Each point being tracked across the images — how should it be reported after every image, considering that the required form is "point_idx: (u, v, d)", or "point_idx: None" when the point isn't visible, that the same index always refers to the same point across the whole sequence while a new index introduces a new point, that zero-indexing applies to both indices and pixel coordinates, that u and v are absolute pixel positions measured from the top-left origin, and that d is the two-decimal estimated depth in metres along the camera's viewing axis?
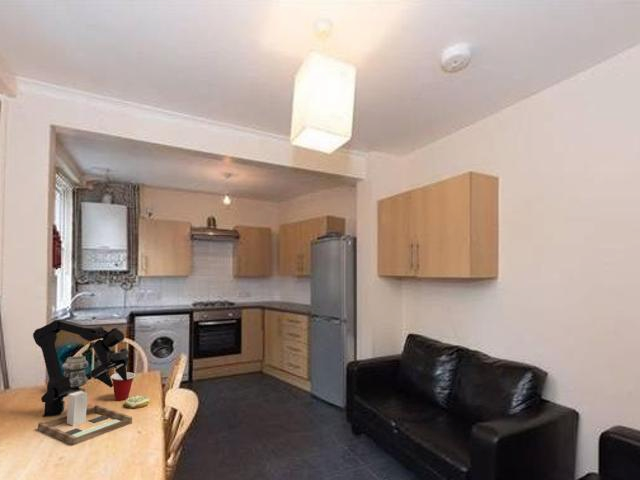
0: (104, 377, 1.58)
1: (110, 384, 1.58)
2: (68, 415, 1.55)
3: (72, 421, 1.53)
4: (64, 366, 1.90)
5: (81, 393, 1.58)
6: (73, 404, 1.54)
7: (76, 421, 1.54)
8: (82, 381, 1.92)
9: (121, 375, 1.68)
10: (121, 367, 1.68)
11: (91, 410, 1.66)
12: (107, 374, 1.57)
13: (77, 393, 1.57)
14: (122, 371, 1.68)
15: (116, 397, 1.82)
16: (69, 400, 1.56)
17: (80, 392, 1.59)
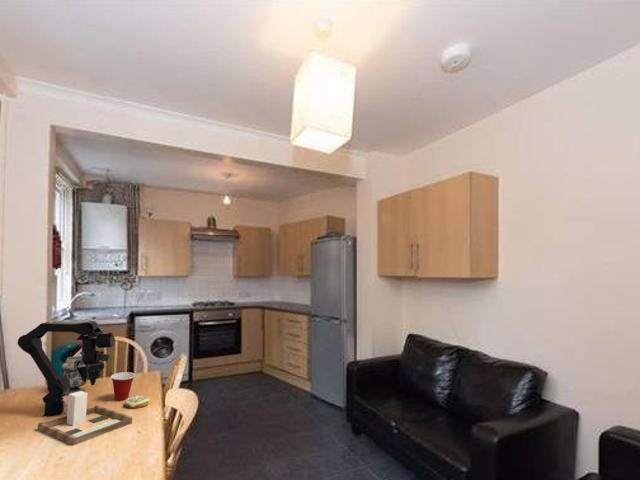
0: (93, 374, 1.65)
1: (94, 382, 1.66)
2: (68, 415, 1.55)
3: (72, 421, 1.53)
4: (64, 366, 1.90)
5: (81, 393, 1.58)
6: (73, 404, 1.54)
7: (76, 421, 1.54)
8: (82, 381, 1.92)
9: (82, 375, 1.71)
10: (85, 367, 1.73)
11: (91, 410, 1.66)
12: None
13: (77, 393, 1.57)
14: (85, 372, 1.72)
15: (116, 397, 1.82)
16: (69, 400, 1.56)
17: (80, 392, 1.59)
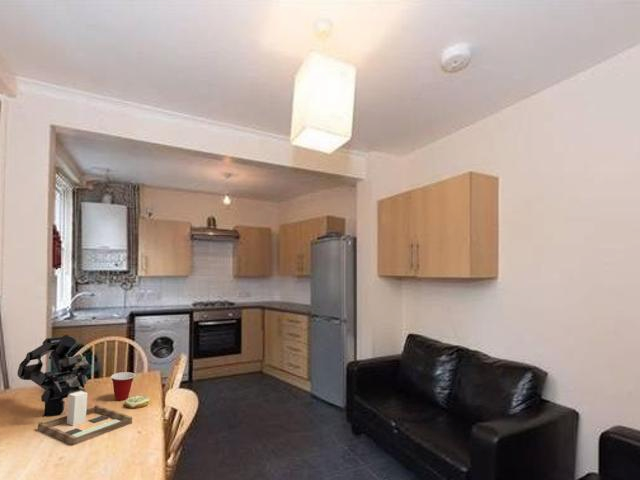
0: (53, 384, 1.57)
1: (59, 390, 1.56)
2: (68, 415, 1.55)
3: (72, 421, 1.53)
4: None
5: (81, 393, 1.58)
6: (73, 404, 1.54)
7: (76, 421, 1.54)
8: None
9: (80, 382, 1.65)
10: (80, 374, 1.67)
11: (91, 410, 1.66)
12: (55, 380, 1.56)
13: (77, 393, 1.57)
14: (81, 378, 1.66)
15: (116, 397, 1.82)
16: (69, 400, 1.56)
17: (80, 392, 1.59)
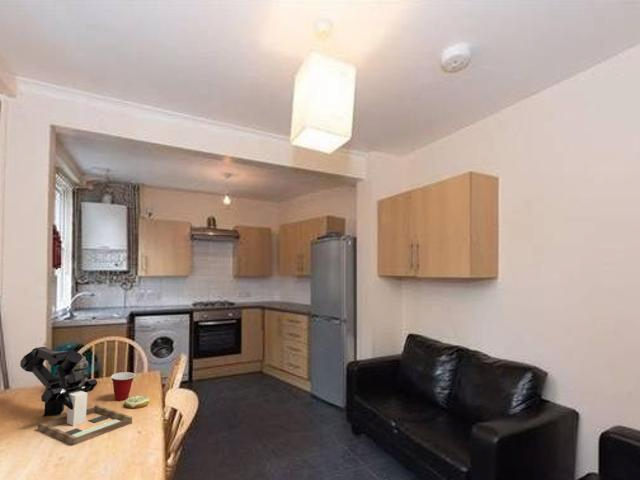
0: (65, 399, 1.55)
1: (70, 406, 1.54)
2: (68, 415, 1.55)
3: (72, 421, 1.53)
4: None
5: (81, 393, 1.58)
6: (73, 404, 1.54)
7: (76, 421, 1.54)
8: (82, 381, 1.92)
9: None
10: None
11: (91, 410, 1.66)
12: (66, 396, 1.54)
13: (77, 393, 1.57)
14: None
15: (116, 397, 1.82)
16: None
17: (80, 392, 1.59)
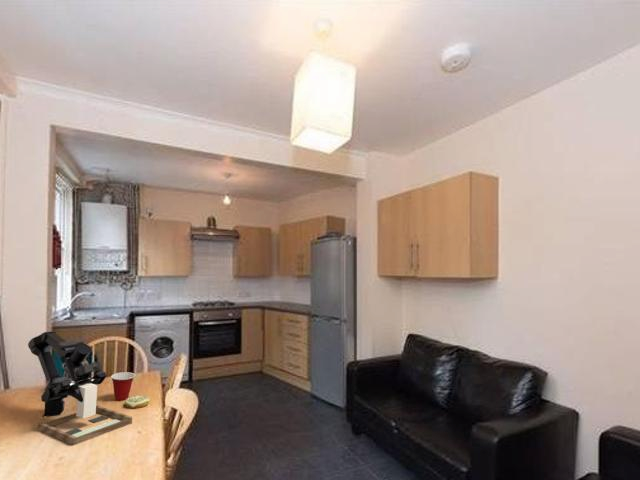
0: (74, 392, 1.52)
1: (80, 399, 1.51)
2: (78, 408, 1.52)
3: (82, 414, 1.50)
4: None
5: (91, 385, 1.55)
6: (83, 396, 1.51)
7: (85, 413, 1.51)
8: None
9: None
10: None
11: None
12: (75, 388, 1.52)
13: (87, 386, 1.54)
14: None
15: (116, 397, 1.82)
16: None
17: (90, 384, 1.56)
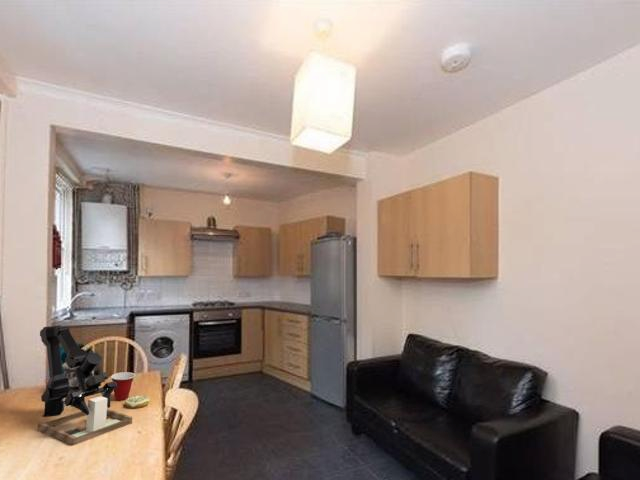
0: (80, 404, 1.47)
1: (86, 411, 1.46)
2: (87, 421, 1.48)
3: (92, 428, 1.46)
4: (64, 366, 1.90)
5: (101, 398, 1.51)
6: (93, 410, 1.47)
7: (95, 428, 1.47)
8: None
9: None
10: (105, 393, 1.56)
11: None
12: (81, 400, 1.46)
13: (97, 399, 1.50)
14: None
15: (116, 397, 1.82)
16: (88, 406, 1.49)
17: (100, 397, 1.52)
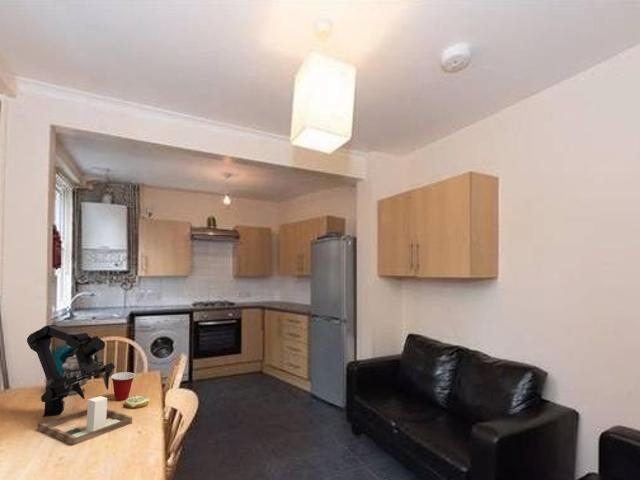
0: None
1: (81, 396, 1.55)
2: (87, 422, 1.48)
3: (92, 428, 1.46)
4: (64, 366, 1.90)
5: (101, 398, 1.51)
6: (93, 410, 1.47)
7: (95, 428, 1.47)
8: (82, 381, 1.92)
9: None
10: (104, 375, 1.63)
11: None
12: (77, 387, 1.54)
13: (97, 399, 1.50)
14: (105, 379, 1.63)
15: (116, 397, 1.82)
16: (88, 406, 1.49)
17: (100, 397, 1.52)
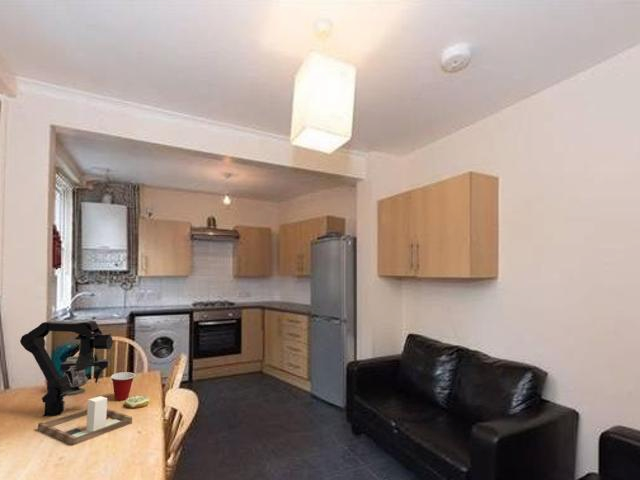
0: None
1: None
2: (87, 422, 1.48)
3: (92, 428, 1.46)
4: None
5: (101, 398, 1.51)
6: (93, 410, 1.47)
7: (95, 428, 1.47)
8: (82, 381, 1.92)
9: None
10: (97, 369, 1.69)
11: None
12: (68, 373, 1.64)
13: (97, 399, 1.50)
14: None
15: (116, 397, 1.82)
16: (88, 406, 1.49)
17: (100, 397, 1.52)
